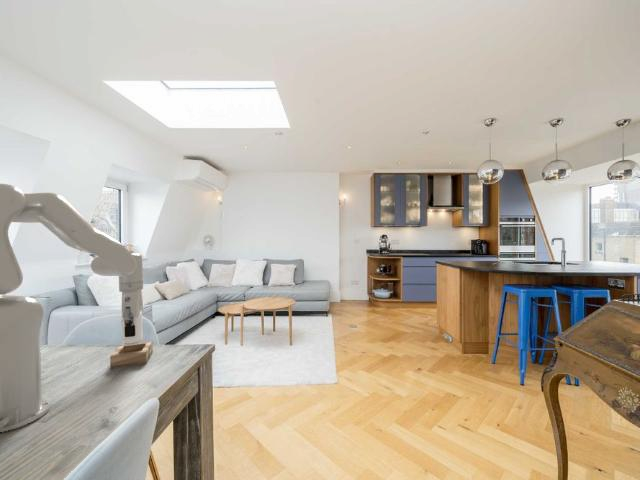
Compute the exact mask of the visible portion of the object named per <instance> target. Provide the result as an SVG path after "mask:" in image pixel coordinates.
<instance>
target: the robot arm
mask: <svg viewBox="0 0 640 480" xmlns="http://www.w3.org/2000/svg"><path fill="white" fill-rule="evenodd" d="M11 223H24V224H25V223H27V224H28V223H30V224H31V223H33V224H34V223H40V224H42V225H43V226H44V227H45V228H46V229H47V230H48V231H50V232H51V233H53V235H55V236H56V237H57V238H58V239H59V240H60V241H62V242H63V244H65V245H66V246H68V247H70V248H73V249H74V250H76V251H77V250H78V251H82V252H86V253H89V254H92V255H94V256H96V257H95V258H94V259H92V261H91V263H90V268H91V271H92V272H93V273H94V274H96V275H98V276H101V277H102V276H103V277H118V292H121V319H122V318H124V322H125V324H124V328H125V337H133V336H135V325H134V317H136V318H137V317H138V316H139V315H140V311H141V312H142V313H143V312H144V302H143V292H142V290H144V277H143V276H144V275H143V274H144V273H143V271H144V270H143V269H144V268H143V256H142V254H141V253H137V252H136V253H135V252H134V253H133V252H131V251H130V250H129V249H128V248H127V247H126V246H125V245H124V244H122V243H121V242H119V241H118V240H116V239H114V238H113V237H111V236H109V235H107V234H106V233H104V232H102V231H101V230H98V229H96V228H95V227H93V226H92V224H91V223H90V222H89V221H87V219H85V217H83V216H82V215H81V213H79V212H78V211H77V209H75V207H74V206H72V204H71V203H70V202H69V201H68V200H66V199H65V198H64V197H63V196H61V195H60V194H57V193H54V192H36V193H35V192H33V193H24V192H23V191H22V190H21V189H20V188H18V187H16V186H15V185H11V184H6V183H0V432H2V433H5V432H4V431H6V432H9V431H8V430H10V431H13V430H15V429H19V428H22V427H24V426H26V425H28V423H29V424H31V423H33V422H34V421H36V420H39V419H40V418H42V417H43V416H44V415H46V413H48V411H49V410H50V408H51V403H50V401H49V400H46V399H43V395H42V393H43V392H42V391H43V390H42V389H43V388H42V359H41V358H42V357H41V356H42V355H41V354H42V353H41V337H42V335H41V334H42V328H43V323H44V318H45V309H44V307H43V304H41V303H40V301H38V300H37V299H35V298H33V297H29V296H25V295H24V296H23V295H9V293H11V292H14V291H16V290H17V289H18V288H20V286H21V285H22V283H23V279H24V277H23V272H22V269H21V267H20V264H19V262H18V259H17V257H16V254H15V252H14V249H13V247H12V244H11V240H10V237H9V229H10V226H11ZM124 315H125V316H124ZM130 315H133V317H129V316H130ZM130 319H132V322H131V320H130ZM12 429H13V430H12Z"/></svg>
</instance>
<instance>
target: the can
mask: <svg viewBox="0 0 640 480" xmlns="http://www.w3.org/2000/svg"><path fill="white" fill-rule="evenodd" d="M124 316H125V315H124ZM129 317H133V315H130V316H129ZM130 320H131V322H132V319H130ZM124 324H125V322H124V318H122V317H121V343H122V345H126V344H134V343H141V342H142V340H143V337H144V334H143V331H144V330H143V312H141V311H140V315H139V316H138V317H137V318H136V317H134V325H135V336H133V337H125V328H124Z"/></svg>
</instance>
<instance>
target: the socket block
mask: <svg viewBox="0 0 640 480" xmlns="http://www.w3.org/2000/svg"><path fill="white" fill-rule="evenodd" d="M153 353H154V351H153V341H144V342H143V341H141V342H138V343H134V344H121V345H119V346H118V347H117V348H116V349H115V350H114V351H113V353H111V355H110V356H109V357H110V359H109V360H110V362H109V363H110V370H114V369H120V368H128V367H134V366H141V365H147V363H148V361H149V360H150V358H151V356H152V355H153Z"/></svg>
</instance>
